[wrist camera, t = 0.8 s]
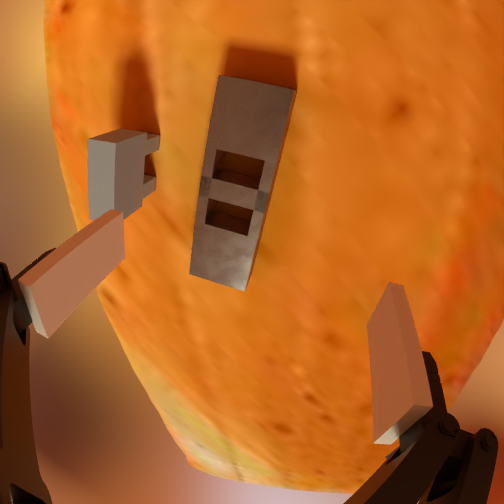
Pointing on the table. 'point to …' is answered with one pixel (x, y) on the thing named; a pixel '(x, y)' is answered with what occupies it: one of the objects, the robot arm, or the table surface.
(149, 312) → the table surface
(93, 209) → the upright grey box
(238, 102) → the block with rectangular hole
